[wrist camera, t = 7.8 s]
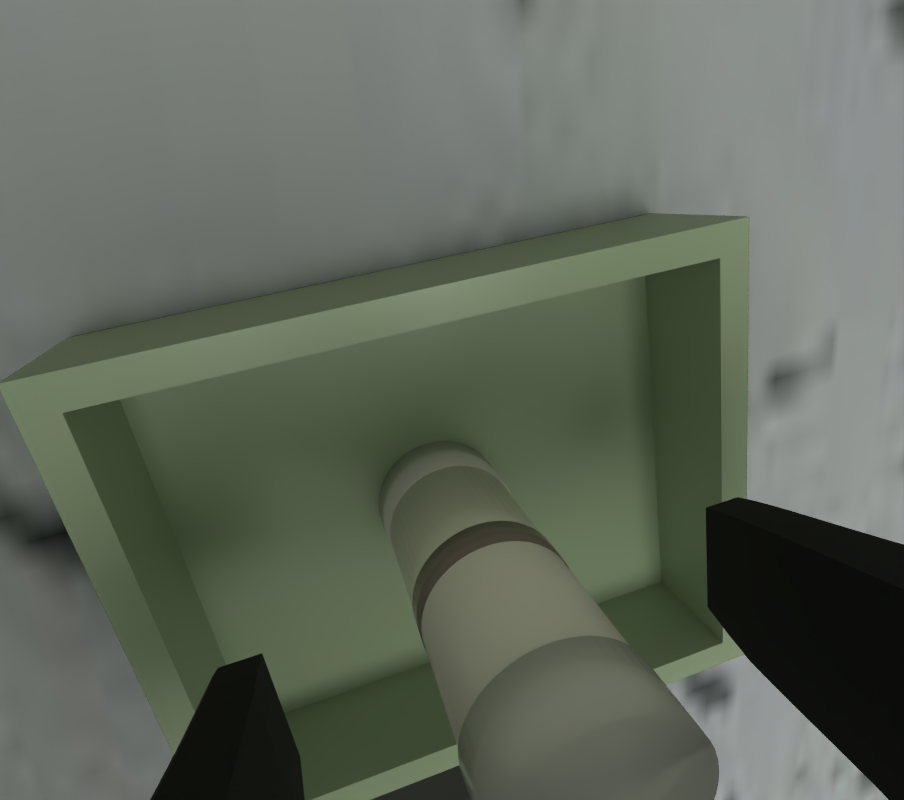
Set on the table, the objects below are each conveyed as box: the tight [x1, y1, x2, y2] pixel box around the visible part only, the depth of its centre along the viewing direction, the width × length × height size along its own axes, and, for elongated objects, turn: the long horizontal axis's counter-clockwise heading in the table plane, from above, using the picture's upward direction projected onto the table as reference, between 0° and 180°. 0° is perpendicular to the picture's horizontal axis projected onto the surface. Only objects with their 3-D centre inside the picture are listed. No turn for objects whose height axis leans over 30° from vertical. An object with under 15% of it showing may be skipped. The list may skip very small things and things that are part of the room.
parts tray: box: [0, 213, 750, 800], centre depth 12 cm, size 12×10×3 cm
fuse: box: [379, 441, 719, 800], centre depth 10 cm, size 3×3×8 cm
